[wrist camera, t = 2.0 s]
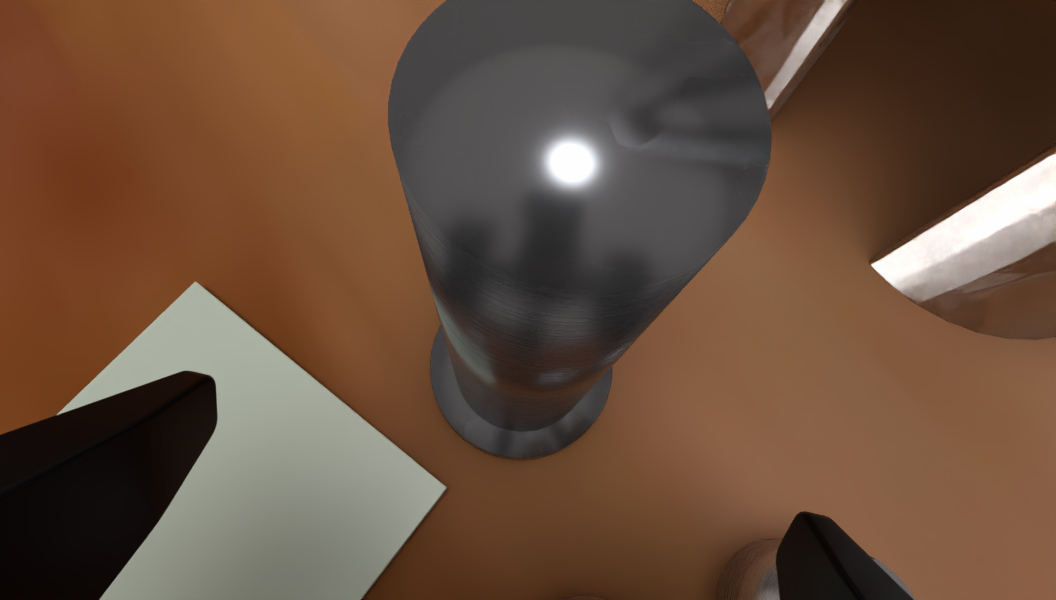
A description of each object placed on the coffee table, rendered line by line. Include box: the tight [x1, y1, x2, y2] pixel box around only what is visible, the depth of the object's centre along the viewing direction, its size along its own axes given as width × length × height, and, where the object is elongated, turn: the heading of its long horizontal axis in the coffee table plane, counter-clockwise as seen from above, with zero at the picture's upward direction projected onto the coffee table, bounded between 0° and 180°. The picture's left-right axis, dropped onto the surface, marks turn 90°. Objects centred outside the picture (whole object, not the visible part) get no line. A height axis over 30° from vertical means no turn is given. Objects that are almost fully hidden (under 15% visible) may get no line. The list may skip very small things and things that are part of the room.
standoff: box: [388, 0, 771, 460], centre depth 14 cm, size 6×6×14 cm
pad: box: [57, 281, 447, 600], centre depth 18 cm, size 11×11×1 cm
